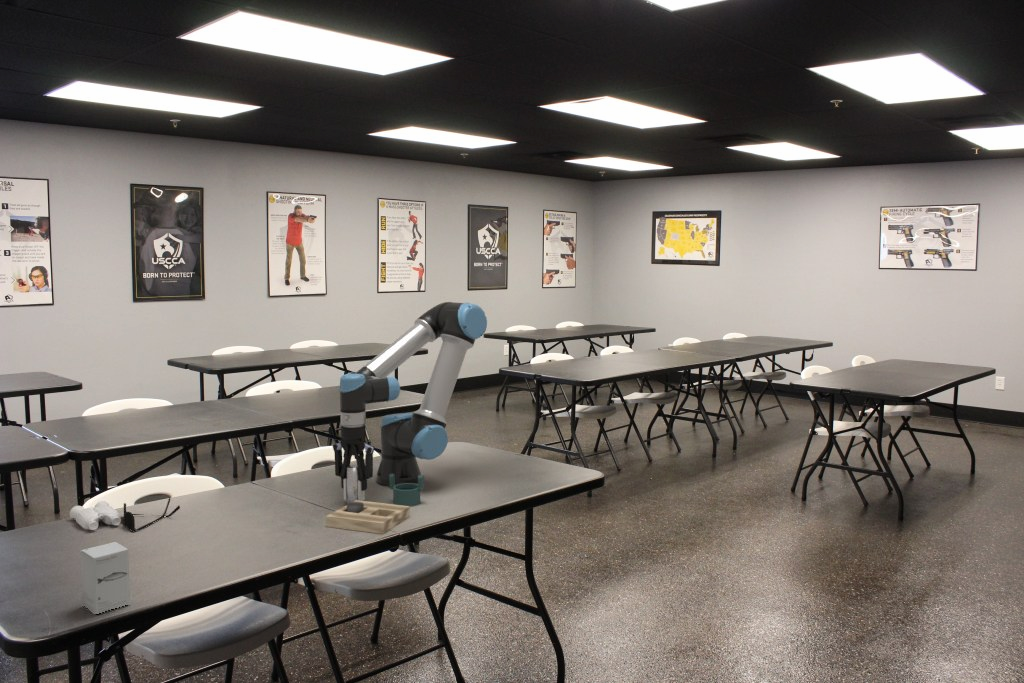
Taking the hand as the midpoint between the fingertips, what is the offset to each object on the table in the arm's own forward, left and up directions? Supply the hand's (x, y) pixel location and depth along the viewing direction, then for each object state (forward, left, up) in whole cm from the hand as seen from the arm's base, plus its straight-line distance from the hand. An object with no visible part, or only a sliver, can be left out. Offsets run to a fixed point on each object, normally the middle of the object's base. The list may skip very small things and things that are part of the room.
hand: (354, 499), depth 237 cm
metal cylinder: (0, 0, -2) cm, 2 cm away
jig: (+12, +12, -2) cm, 17 cm away
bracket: (-8, +14, -2) cm, 16 cm away
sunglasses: (+33, -48, -2) cm, 58 cm away
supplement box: (+80, -13, -2) cm, 81 cm away
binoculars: (+40, -60, -2) cm, 72 cm away
